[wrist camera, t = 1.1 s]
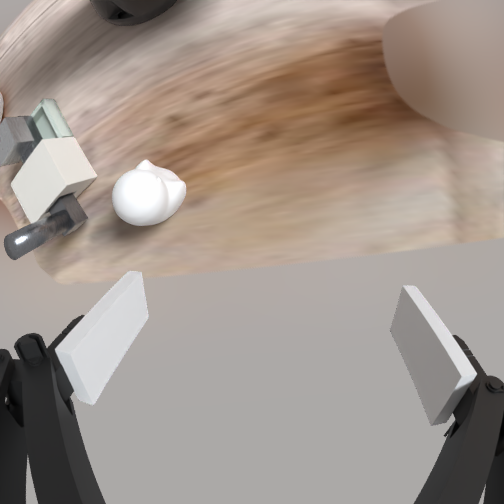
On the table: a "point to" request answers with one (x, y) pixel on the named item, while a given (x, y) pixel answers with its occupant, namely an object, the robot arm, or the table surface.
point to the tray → (50, 120)
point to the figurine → (147, 194)
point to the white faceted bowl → (1, 106)
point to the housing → (51, 176)
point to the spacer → (14, 140)
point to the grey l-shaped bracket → (59, 222)
